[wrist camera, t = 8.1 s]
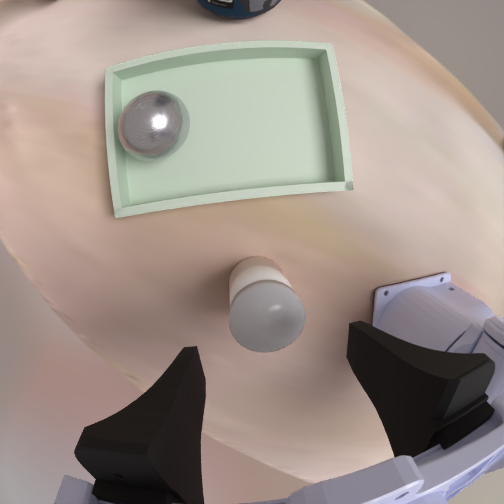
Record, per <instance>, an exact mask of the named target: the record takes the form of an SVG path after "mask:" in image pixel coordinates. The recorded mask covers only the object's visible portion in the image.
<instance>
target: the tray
mask: <svg viewBox="0 0 504 504" xmlns="http://www.w3.org/2000/svg"><path fill="white" fill-rule="evenodd" d="M154 90H160V91H166V92H169V93H171V94H174V95H175V96H177V97H178V98H179V99H180V100H181V101H182V102H183V103H184V104H185V106H186V108H187V110H188V113H189V116H190V129H189V133H188V136H187V139H186V140H185V142H184V144H183V145H182V146H181V148H180V149H179V150H178V151H177V152H175V153H174V154H173V155H171V156H169V157H167V158H165V159H162V160H159V161H143V160H140V159H137V158H135V157H133V156H132V155H130V154H129V153H128V152H127V151H126V150H125V149H124V148H123V146H122V144H121V142H120V140H119V136H118V121H119V118H120V115H121V113H122V111H123V109H124V108H125V106H126V105H127V104H128V103H129V102H130V101H131V100H132V99H133V98H135V97H136V96H138V95H140V94H142V93H144V92H148V91H154ZM105 127H106V145H107V157H108V168H109V177H110V186H111V194H112V201H113V208H114V214H115V218H120V217H126V216H131V215H137V214H143V213H149V212H155V211H161V210H168V209H174V208H181V207H188V206H195V205H202V204H209V203H217V202H225V201H233V200H242V199H251V198H260V197H270V196H280V195H291V194H303V193H315V192H329V191H345V190H353V177H352V165H351V154H350V144H349V136H348V128H347V120H346V113H345V106H344V100H343V94H342V88H341V82H340V77H339V72H338V67H337V62H336V57H335V53H334V48H333V44H329V43H319V42H305V41H242V42H229V43H218V44H209V45H201V46H195V47H188V48H182V49H177V50H171V51H166V52H162V53H157V54H153V55H149V56H145V57H141V58H137V59H133V60H130V61H126V62H123V63H119V64H116V65H113V66H110V67H107V68H105Z"/></svg>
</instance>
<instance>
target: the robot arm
mask: <svg viewBox="0 0 504 504" xmlns="http://www.w3.org/2000/svg"><path fill="white" fill-rule="evenodd" d="M440 279H441V280H440ZM450 280H451V274H450V273H448V272H445V273H441V274H437V275H433V276H429V277H425V278H421V279H417V280H412V281H408V282H403V283H399V284H394V285H390V286H385V287H380V288H378V289H377V290H376V292H375V301H374V312H373V322H372V325H369V324H367V323H365V322H363V321H357V322H353V323H349V335H348V347H347V359H348V361H349V364H350V366H351V368H352V370H353V373H354V374H355V376H356V377H357V379H358V381H359V382H360V384H361V385H362V387H363V389H364V390H365V392H366V393H367V395H368V397H369V398H370V400H371V401H372V403H373V405H374V406H375V408H376V410H377V412H378V415H379V417H380V419H381V421H382V423H383V426H384V428H385V431H386V434H387V436H388V439H389V442H390V445H391V447H392V450H393V453H394V457H395V458H391V459H389V460H386V461H384V462H381V463H379V464H376V465H373V466H371V467H368V468H365V469H362V470H359V471H356V472H353V473H350V474H347V475H343V476H340V477H337V478H333V479H329V480H325V481H321V482H318V483H315V484H312V485H309V486H305V487H303V488H301V489H299V490H297V491H295V492H293V493H292V494H291V495H290V496H289V497H288V498H284V499H278V500H270V501H263V502H253V503H241V504H448V502H447V501H448V500H450V499H451V498H453V497H454V496H455V495H457V494H458V493H460V492H461V491H462V490H463V489H465V488H466V487H468V486H469V485H470V484H471V483H473V482H474V481H475V480H477V479H478V478H479V477H480V476H481V475H483V474H485V473H489V472H492V471H495V470H498V469H501V468H503V467H504V318H503V317H501V316H497V315H494V313H493V311H492V310H491V308H490V307H489V306H488V305H487V304H486V303H485V302H483V301H481V300H480V299H478V298H476V297H475V296H473V295H471V294H470V293H468V292H466V291H464V290H463V289H461V288H459V287H457V286H456V285H454V284H452V283H450ZM385 291H387V292H386V293H385V294H384V292H385ZM205 398H206V381H205V376H204V372H203V368H202V364H201V361H200V357H199V353H198V349H197V346H194V347H184V348H183V349H182V350H181V352H180V353H179V354H178V356H177V357H176V358H175V360H174V361H173V362H172V364H171V365H170V366H169V367H168V369H167V370H166V371H165V372H164V373H163V375H162V376H161V377H160V378H159V379H158V380H157V381H156V382H155V383H154V385H153V386H152V387H150V388H149V389H148V390H147V391H146V392H145V393H144V394H143V395H141V396H140V397H139V398H138V399H137V400H135V401H134V402H132V403H131V404H129V405H128V406H127V407H125V408H124V409H122V410H121V411H119V412H117V413H116V414H114V415H112V416H110V417H108V418H106V419H104V420H101V421H99V422H97V423H94V424H92V425H89V426H87V427H85V428H84V430H83V432H82V434H81V436H80V439H79V441H78V444H77V446H76V448H75V451H74V453H75V456H76V458H77V459H78V461H79V462H80V464H82V466H83V467H84V468H85V469H86V470H87V471H88V472H89V473H90V474H91V475H92V476H93V477H94V478H95V479H96V480H95V484H94V485H93V484H91V483H89V482H87V481H84V480H81V479H77V478H74V477H71V476H68V475H65V476H64V477H63V480H62V483H61V486H60V488H59V491H58V494H57V497H56V500H55V503H54V504H204V497H203V487H202V474H201V431H202V423H203V415H204V407H205Z"/></svg>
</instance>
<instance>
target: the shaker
mask: <svg viewBox="0 0 504 504" xmlns="http://www.w3.org/2000/svg"><path fill="white" fill-rule="evenodd" d="M229 297H230V309H229V324H230V330H231V333H232V335H233V337H234V338H235V339H236V341H237V342H238V343H239V344H240V345H242V346H243V347H245V348H247V349H249V350H252V351H256V352H273V351H277V350H280V349H282V348H285V347H286V346H288V345H289V344H291V343H292V342H293V341H294V340H295V339H296V338H297V337H298V336H299V334H300V333H301V331H302V329H303V327H304V323H305V310H304V307H303V304H302V302H301V301H300V299H299V297H298V296H297V294H296V292H295V291H294V290H293V289H292V287H291V285H290V283H289V282H288V280H287V278H286V277H285V275H284V273H283V272H282V270H281V268H280V267H279V266H278V264H277V263H275V262H274V261H273V260H271V259H269V258H266V257H262V256H254V257H249V258H247V259H244V260H243V261H241V262H240V263H238V264H237V265H236V266H235V268H234V269H233V271H232V273H231V275H230V279H229Z"/></svg>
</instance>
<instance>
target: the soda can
mask: <svg viewBox="0 0 504 504" xmlns="http://www.w3.org/2000/svg"><path fill="white" fill-rule="evenodd" d="M197 1H198V2H199V3H200V4H201V5H202V6H203V7H204V8H206V9H207V10H209V11H211V12H213V13H215V14H217V15H220V16H223V17H227V18H234V19H243V18H250V17H254V16H257V15H260V14H262V13H265V12H267V11H269V10H271V9H272V8H274V7H275V6H276V5H277V4H278V3H279V2H280V1H281V0H197Z"/></svg>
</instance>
